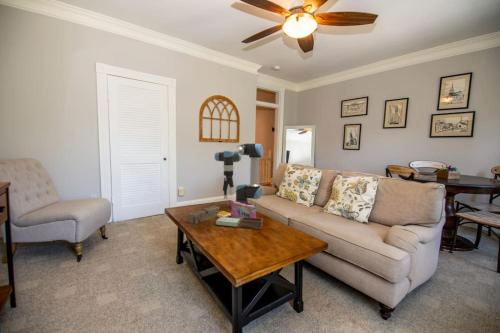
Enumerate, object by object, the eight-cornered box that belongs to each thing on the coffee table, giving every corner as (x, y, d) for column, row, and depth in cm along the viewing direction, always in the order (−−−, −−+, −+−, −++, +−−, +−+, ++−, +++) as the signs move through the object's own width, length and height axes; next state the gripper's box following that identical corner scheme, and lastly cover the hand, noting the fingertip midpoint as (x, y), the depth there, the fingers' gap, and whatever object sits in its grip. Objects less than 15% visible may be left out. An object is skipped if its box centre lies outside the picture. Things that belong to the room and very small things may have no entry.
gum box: (229, 216, 199) (230, 201, 197) (236, 214, 205) (236, 200, 203) (250, 223, 183) (250, 206, 182) (256, 220, 189) (256, 205, 187)
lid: (220, 221, 186) (220, 216, 185) (240, 223, 182) (240, 218, 182) (216, 225, 176) (216, 220, 176) (236, 227, 172) (237, 222, 172)
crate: (242, 224, 180) (243, 216, 179) (262, 226, 176) (262, 218, 176) (240, 227, 173) (240, 219, 172) (261, 229, 169) (261, 221, 169)
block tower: (194, 225, 178) (219, 215, 201) (193, 215, 177) (219, 206, 200) (187, 223, 183) (213, 213, 206) (187, 213, 182) (213, 204, 205)
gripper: (228, 168, 189) (228, 193, 191) (218, 172, 165) (218, 200, 167) (237, 168, 187) (237, 194, 190) (228, 172, 163) (228, 201, 165)
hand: (228, 197), depth 178 cm, fingers open, 13 cm apart
